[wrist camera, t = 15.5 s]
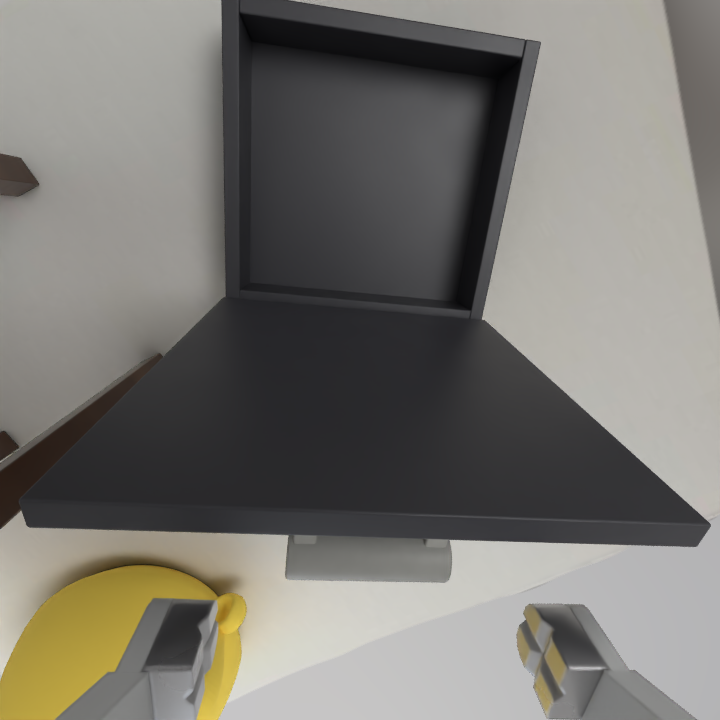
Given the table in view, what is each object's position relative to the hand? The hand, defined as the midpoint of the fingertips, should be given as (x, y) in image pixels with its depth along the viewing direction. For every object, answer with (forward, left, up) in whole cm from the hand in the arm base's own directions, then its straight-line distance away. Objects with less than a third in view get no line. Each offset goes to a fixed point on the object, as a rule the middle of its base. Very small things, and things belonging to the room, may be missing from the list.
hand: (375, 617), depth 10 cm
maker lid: (-4, 0, -7) cm, 9 cm away
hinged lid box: (-12, 0, -19) cm, 23 cm away
